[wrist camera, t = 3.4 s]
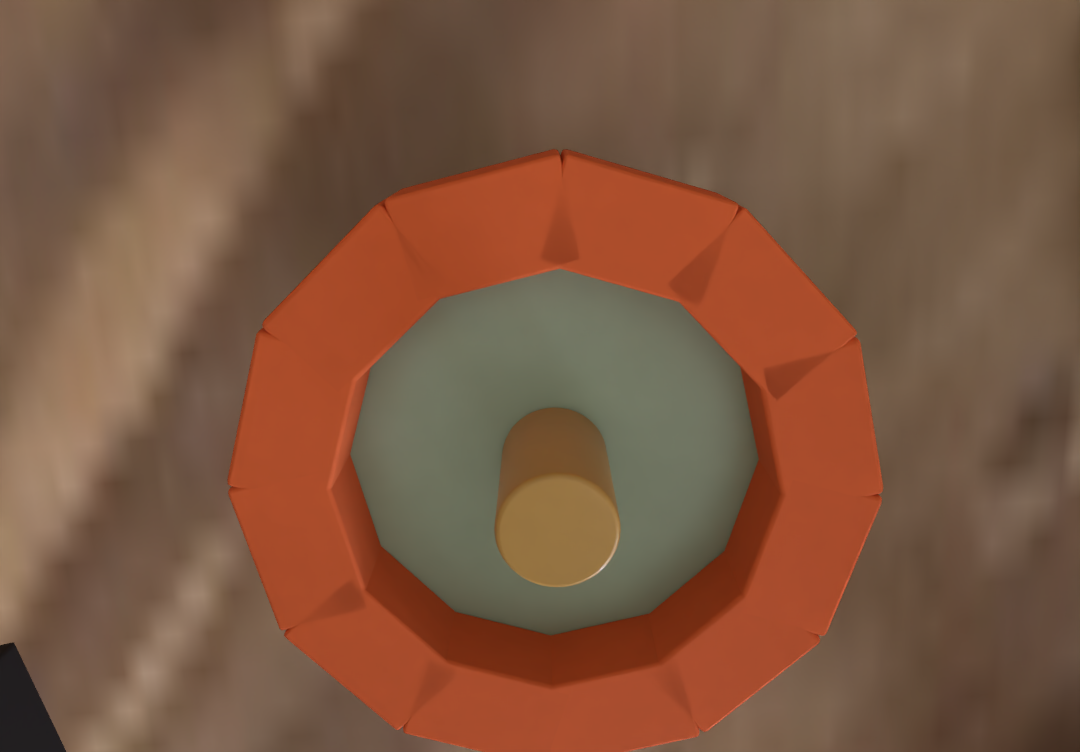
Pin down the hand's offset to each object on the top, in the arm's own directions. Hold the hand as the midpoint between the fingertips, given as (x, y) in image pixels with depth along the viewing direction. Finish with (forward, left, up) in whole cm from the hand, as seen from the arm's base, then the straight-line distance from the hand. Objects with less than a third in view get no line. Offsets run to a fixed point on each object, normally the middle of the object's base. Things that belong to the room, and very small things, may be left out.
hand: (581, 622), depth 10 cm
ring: (0, 0, -6) cm, 6 cm away
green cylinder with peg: (0, 0, -13) cm, 13 cm away
